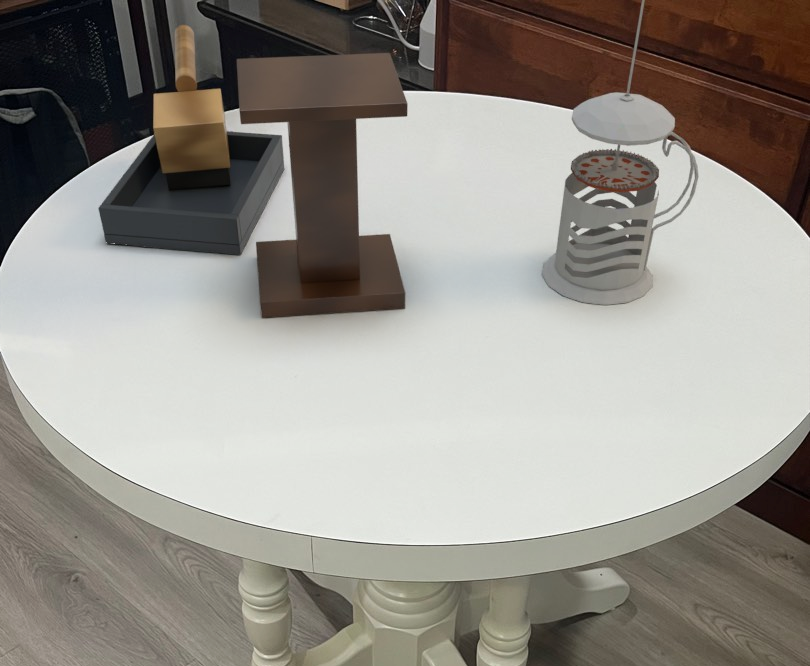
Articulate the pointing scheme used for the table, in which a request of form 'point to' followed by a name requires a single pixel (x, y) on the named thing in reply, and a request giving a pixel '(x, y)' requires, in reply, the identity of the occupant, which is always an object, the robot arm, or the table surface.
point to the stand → (324, 181)
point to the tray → (194, 200)
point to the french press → (620, 173)
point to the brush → (191, 125)
